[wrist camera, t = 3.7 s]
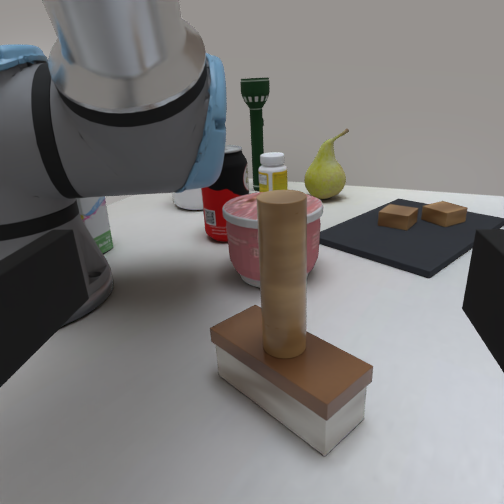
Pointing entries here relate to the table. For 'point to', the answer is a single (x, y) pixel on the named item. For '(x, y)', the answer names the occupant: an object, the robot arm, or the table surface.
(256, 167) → the flashlight
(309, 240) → the container
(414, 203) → the mat
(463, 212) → the chip
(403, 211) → the chip
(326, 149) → the fruit
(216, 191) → the beverage can
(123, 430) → the table surface
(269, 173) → the supplement bottle
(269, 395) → the brush
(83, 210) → the ink box
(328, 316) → the table surface
